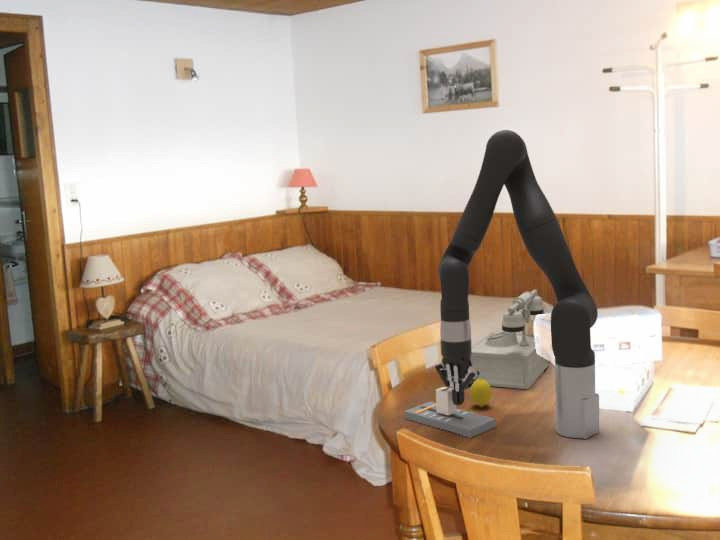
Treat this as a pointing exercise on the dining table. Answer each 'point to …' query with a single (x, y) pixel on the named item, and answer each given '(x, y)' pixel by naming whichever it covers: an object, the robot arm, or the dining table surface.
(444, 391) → the fader tab
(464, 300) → the robot arm
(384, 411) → the dining table surface
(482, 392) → the lemon
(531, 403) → the dining table surface
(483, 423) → the console board
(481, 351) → the pale grey angular base
